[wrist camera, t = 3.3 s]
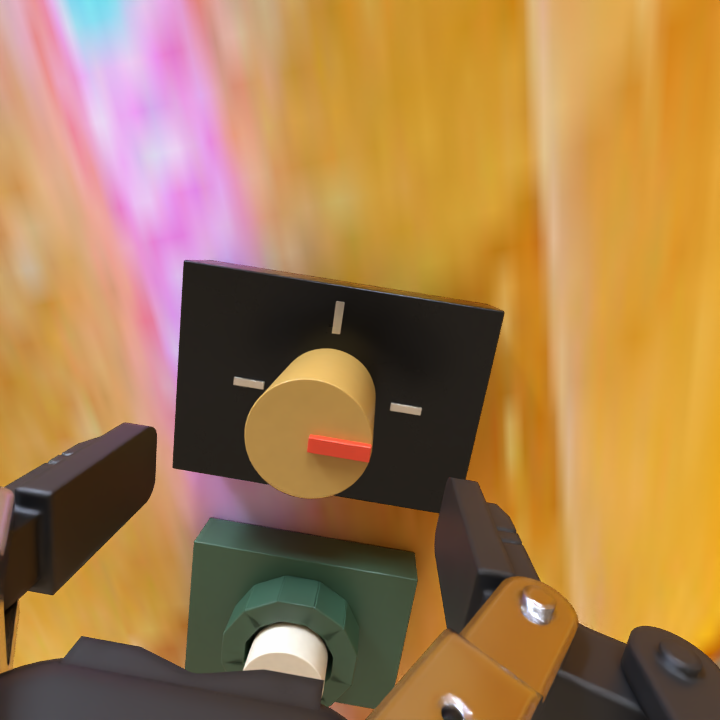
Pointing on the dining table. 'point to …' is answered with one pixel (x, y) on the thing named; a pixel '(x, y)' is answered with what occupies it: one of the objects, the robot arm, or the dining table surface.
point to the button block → (301, 603)
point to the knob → (314, 425)
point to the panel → (345, 333)
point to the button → (289, 651)
